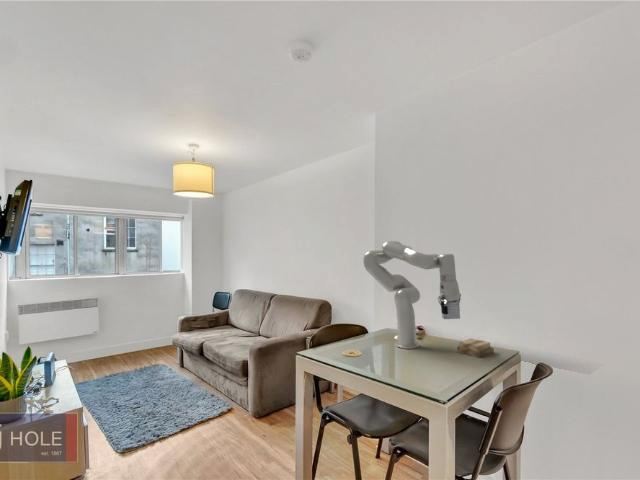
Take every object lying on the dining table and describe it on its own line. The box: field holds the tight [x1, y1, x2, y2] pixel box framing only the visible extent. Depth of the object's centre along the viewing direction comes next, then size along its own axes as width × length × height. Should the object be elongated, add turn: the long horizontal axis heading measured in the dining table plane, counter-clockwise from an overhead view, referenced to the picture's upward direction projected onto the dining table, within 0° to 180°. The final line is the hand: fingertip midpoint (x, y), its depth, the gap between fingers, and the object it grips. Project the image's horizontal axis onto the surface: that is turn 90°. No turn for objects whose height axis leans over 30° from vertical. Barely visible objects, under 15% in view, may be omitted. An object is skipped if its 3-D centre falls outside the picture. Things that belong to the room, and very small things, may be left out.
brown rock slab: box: [456, 338, 495, 359], centre depth 161 cm, size 12×12×5 cm
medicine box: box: [440, 301, 461, 320], centre depth 162 cm, size 8×4×9 cm, turn 82°
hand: (450, 312), depth 162 cm, fingers closed on medicine box, 8 cm apart
